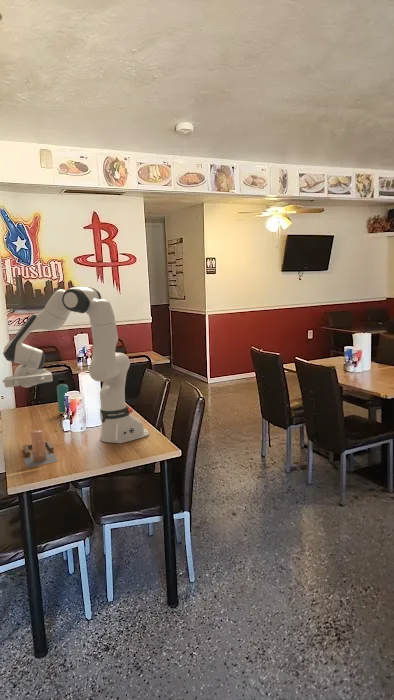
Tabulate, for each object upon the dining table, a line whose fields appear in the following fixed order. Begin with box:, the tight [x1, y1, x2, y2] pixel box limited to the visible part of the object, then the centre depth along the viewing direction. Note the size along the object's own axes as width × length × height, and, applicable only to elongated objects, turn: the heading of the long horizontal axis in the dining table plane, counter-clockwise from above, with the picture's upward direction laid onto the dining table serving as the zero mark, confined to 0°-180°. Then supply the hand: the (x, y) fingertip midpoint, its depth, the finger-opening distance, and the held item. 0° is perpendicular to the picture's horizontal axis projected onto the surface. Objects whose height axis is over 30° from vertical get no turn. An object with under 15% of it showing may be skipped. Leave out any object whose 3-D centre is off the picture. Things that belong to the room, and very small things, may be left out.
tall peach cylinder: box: [30, 429, 47, 462], centre depth 187 cm, size 5×8×12 cm, turn 26°
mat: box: [22, 452, 58, 469], centre depth 189 cm, size 12×12×1 cm
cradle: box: [22, 440, 55, 458], centre depth 200 cm, size 11×11×2 cm
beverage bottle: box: [56, 378, 70, 413], centre depth 259 cm, size 6×7×20 cm
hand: (30, 382), depth 200 cm, fingers open, 8 cm apart
